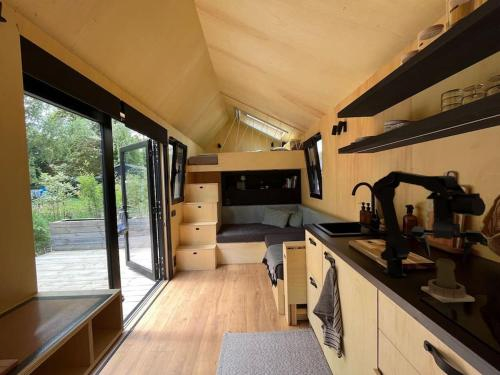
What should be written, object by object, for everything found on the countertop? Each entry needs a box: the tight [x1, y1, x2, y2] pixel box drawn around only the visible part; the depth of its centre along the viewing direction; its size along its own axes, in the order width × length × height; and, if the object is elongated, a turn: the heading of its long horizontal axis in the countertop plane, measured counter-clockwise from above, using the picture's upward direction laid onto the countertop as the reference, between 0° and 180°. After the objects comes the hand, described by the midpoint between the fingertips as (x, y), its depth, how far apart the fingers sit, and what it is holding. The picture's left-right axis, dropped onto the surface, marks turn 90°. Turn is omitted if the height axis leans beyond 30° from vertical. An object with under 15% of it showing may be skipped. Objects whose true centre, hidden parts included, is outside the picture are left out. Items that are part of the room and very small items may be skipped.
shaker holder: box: [420, 278, 475, 303], centre depth 84 cm, size 10×10×4 cm
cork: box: [435, 258, 457, 289], centre depth 84 cm, size 6×6×11 cm
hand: (445, 259), depth 84 cm, fingers open, 9 cm apart
